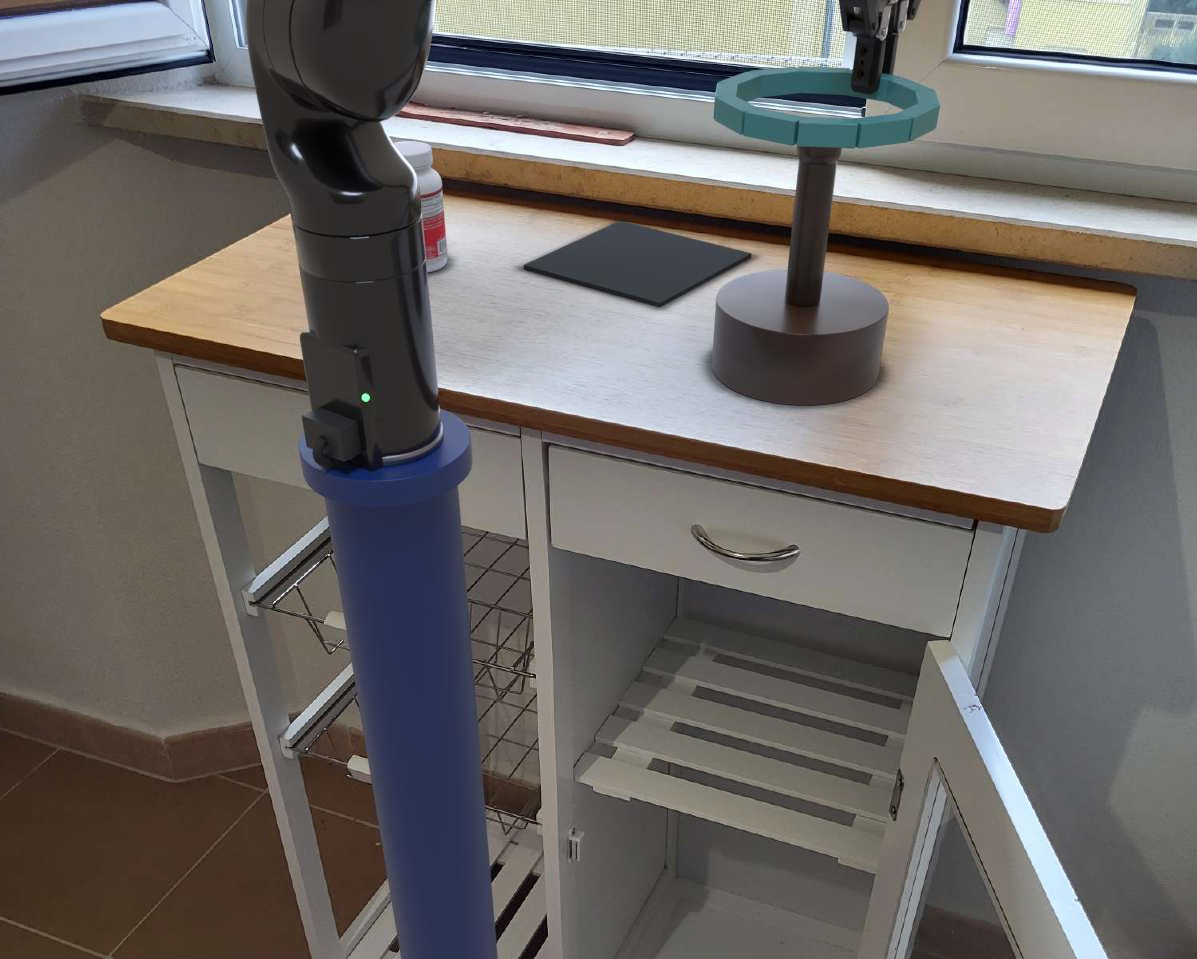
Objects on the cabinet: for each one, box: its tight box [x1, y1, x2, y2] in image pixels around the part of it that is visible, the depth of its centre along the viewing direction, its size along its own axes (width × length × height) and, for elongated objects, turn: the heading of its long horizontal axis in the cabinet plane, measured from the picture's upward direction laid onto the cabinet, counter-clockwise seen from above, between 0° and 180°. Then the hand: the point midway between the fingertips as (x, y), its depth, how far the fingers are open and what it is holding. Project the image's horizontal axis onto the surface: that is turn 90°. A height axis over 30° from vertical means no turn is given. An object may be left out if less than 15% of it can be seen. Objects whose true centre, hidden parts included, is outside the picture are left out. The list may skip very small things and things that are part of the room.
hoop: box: [713, 65, 941, 150], centre depth 94 cm, size 17×17×2 cm
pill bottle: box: [393, 140, 448, 273], centre depth 123 cm, size 6×6×11 cm
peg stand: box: [711, 145, 890, 406], centre depth 102 cm, size 15×15×20 cm
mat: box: [522, 220, 753, 308], centre depth 127 cm, size 17×17×1 cm
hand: (870, 88), depth 99 cm, fingers closed on hoop, 1 cm apart
